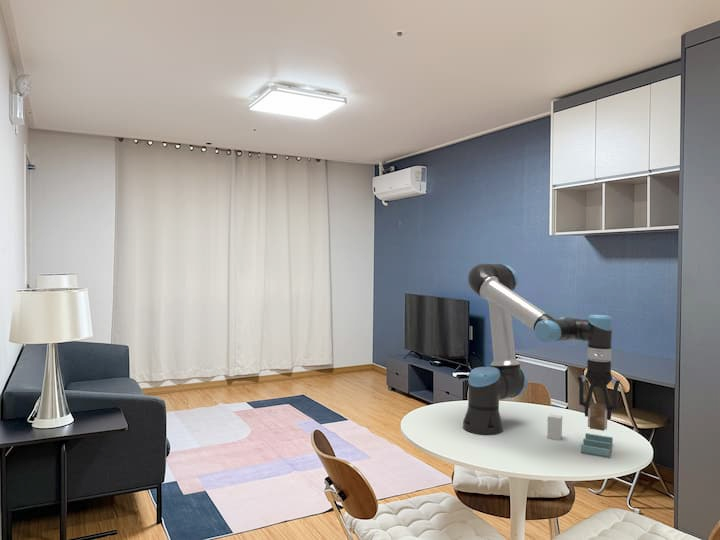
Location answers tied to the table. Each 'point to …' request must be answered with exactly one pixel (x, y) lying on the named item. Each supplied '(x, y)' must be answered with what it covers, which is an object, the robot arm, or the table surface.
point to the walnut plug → (597, 416)
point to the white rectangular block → (554, 427)
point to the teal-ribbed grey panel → (597, 445)
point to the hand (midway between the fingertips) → (597, 427)
